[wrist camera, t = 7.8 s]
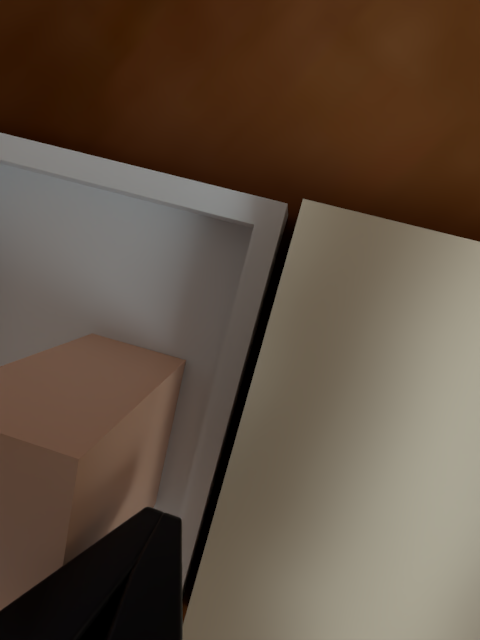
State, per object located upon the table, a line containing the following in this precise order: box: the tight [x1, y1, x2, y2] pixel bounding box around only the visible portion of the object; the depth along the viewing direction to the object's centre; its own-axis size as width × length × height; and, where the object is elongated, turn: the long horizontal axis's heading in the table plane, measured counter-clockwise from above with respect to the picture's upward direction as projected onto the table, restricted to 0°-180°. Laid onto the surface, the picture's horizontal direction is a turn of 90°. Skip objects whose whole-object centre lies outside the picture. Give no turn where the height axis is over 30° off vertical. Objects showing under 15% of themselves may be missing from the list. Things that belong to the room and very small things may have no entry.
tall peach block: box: [0, 333, 186, 610], centre depth 8 cm, size 5×5×3 cm
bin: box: [0, 133, 288, 599], centre depth 10 cm, size 9×14×2 cm
